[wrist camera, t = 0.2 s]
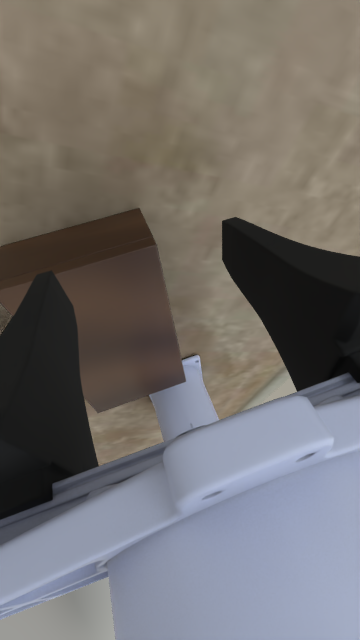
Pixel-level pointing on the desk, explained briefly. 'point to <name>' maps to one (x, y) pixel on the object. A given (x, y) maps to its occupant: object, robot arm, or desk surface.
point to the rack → (105, 303)
